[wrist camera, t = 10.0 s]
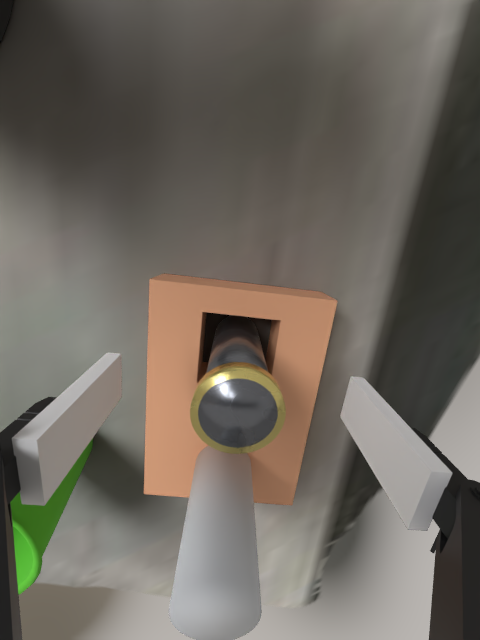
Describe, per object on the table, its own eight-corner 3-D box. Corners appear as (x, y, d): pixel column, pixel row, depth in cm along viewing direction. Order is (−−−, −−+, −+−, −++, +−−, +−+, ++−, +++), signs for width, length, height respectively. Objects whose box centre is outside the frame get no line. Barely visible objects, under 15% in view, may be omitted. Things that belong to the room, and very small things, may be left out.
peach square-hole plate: (163, 273, 23) (64, 313, 10) (321, 291, 24) (431, 353, 10) (156, 460, 29) (85, 652, 15) (284, 471, 29) (326, 664, 16)
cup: (121, 412, 27) (47, 521, 16) (104, 480, 29) (30, 615, 19) (29, 388, 26) (-111, 486, 15) (19, 460, 28) (-109, 589, 18)
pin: (213, 308, 24) (193, 366, 13) (265, 313, 24) (293, 376, 13) (208, 356, 25) (187, 449, 14) (258, 361, 26) (277, 457, 14)
